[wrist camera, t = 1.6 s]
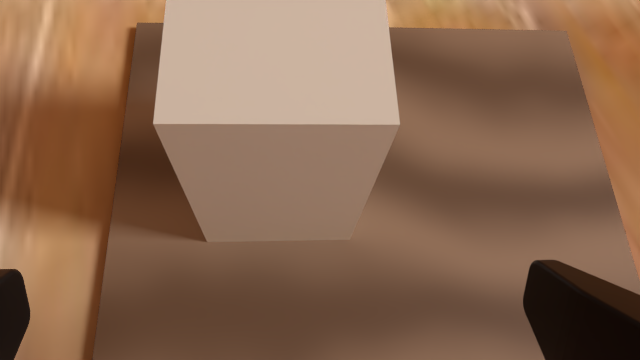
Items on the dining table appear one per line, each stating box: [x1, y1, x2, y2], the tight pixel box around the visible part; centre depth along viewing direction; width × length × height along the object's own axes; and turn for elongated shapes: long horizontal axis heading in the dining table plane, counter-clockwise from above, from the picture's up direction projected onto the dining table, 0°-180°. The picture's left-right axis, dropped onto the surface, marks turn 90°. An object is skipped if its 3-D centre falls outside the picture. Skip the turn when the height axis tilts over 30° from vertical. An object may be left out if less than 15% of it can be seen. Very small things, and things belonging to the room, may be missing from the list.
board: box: [92, 23, 640, 360], centre depth 25 cm, size 18×24×1 cm
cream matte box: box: [153, 0, 400, 242], centre depth 19 cm, size 6×6×10 cm
